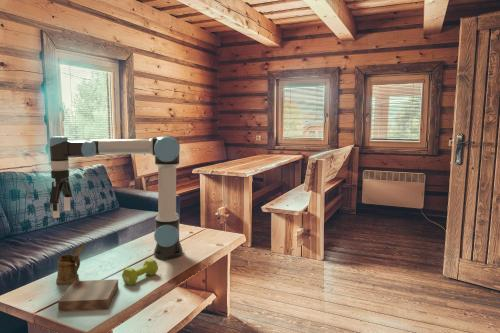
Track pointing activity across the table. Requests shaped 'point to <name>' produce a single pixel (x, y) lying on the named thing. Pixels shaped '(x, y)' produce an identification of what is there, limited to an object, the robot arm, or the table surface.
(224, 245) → the table surface
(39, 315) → the table surface
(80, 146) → the robot arm
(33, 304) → the table surface
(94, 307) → the walnut stand
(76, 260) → the wooden mug
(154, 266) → the dumbbell
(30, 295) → the table surface
